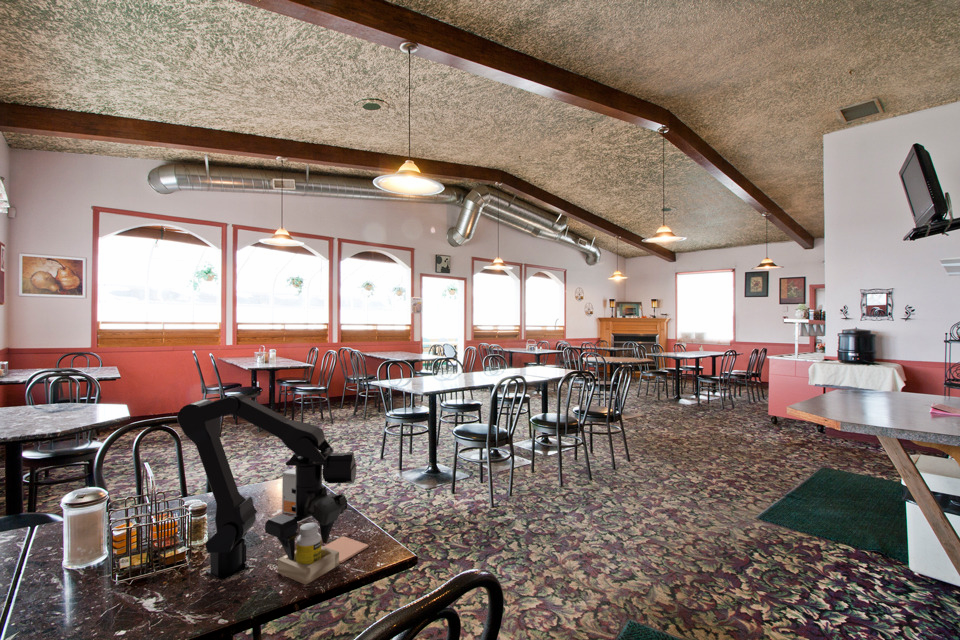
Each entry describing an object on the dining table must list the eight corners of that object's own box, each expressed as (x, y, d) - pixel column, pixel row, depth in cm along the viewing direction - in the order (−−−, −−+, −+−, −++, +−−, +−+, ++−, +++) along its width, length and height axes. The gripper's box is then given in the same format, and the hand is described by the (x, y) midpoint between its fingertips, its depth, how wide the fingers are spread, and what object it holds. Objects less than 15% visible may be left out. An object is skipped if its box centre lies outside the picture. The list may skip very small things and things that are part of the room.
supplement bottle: (316, 575, 105) (316, 531, 105) (292, 575, 105) (292, 531, 105) (324, 562, 110) (324, 521, 110) (301, 562, 110) (301, 520, 110)
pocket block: (305, 584, 101) (305, 571, 101) (277, 572, 106) (277, 559, 106) (339, 564, 109) (339, 552, 109) (311, 554, 114) (311, 542, 114)
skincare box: (281, 513, 137) (281, 472, 137) (291, 507, 142) (291, 467, 141) (299, 515, 136) (299, 474, 136) (308, 510, 140) (308, 469, 140)
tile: (341, 563, 110) (341, 561, 110) (314, 553, 115) (314, 551, 115) (368, 546, 118) (368, 544, 118) (342, 538, 122) (342, 536, 122)
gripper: (298, 504, 95) (297, 581, 95) (364, 477, 111) (364, 543, 111) (263, 493, 101) (263, 566, 101) (331, 469, 117) (331, 531, 117)
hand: (308, 551), depth 107 cm, fingers open, 9 cm apart
